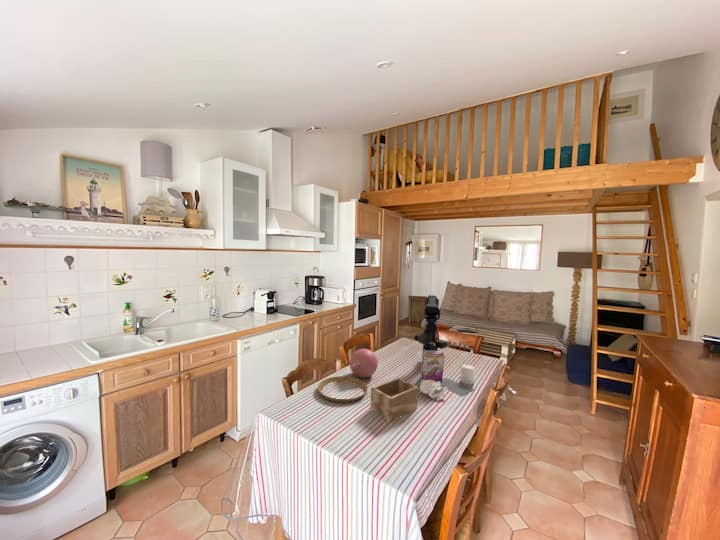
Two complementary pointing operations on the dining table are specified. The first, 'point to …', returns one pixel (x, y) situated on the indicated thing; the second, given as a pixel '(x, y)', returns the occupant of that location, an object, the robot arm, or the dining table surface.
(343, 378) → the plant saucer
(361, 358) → the pink ball
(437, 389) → the coral
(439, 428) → the dining table surface
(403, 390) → the rectangular brown crate
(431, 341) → the robot arm
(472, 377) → the cream domed cylinder
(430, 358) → the candy bar box
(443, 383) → the mat
